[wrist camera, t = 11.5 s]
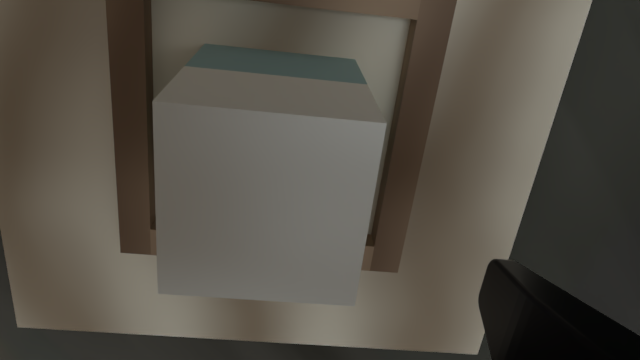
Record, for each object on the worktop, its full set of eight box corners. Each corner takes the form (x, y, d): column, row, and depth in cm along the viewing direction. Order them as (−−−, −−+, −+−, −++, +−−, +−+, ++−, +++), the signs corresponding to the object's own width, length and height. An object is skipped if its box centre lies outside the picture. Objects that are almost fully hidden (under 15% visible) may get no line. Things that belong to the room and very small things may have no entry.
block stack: (354, 59, 15) (386, 123, 10) (336, 191, 17) (354, 306, 12) (204, 43, 15) (152, 100, 10) (202, 180, 17) (157, 294, 11)
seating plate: (624, -163, 14) (667, -177, 12) (469, 337, 22) (483, 369, 20) (-61, -270, 12) (-116, -302, 11) (29, 309, 20) (6, 342, 18)
